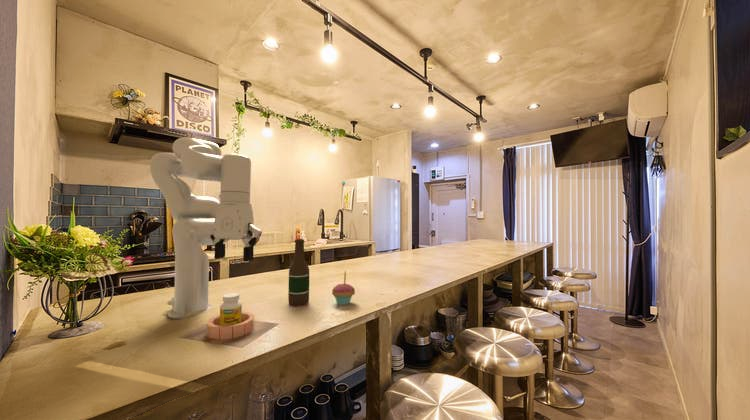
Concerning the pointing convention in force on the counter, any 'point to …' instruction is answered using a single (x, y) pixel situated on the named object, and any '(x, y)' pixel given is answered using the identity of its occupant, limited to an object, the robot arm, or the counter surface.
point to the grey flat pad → (239, 341)
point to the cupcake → (343, 292)
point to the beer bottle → (298, 277)
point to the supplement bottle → (230, 310)
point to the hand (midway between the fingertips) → (233, 259)
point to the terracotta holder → (230, 327)
